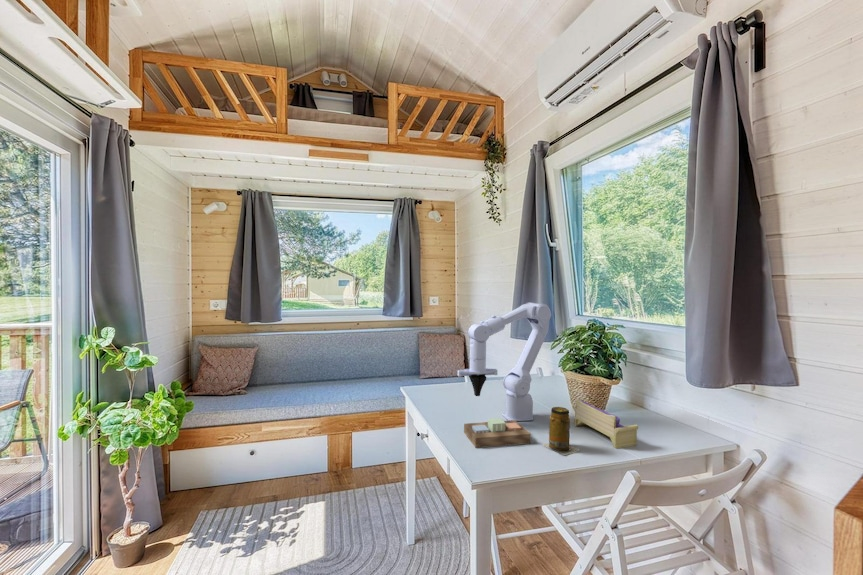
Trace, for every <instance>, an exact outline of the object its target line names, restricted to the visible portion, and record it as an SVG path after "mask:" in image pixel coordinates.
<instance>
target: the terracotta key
mask: <svg viewBox="0 0 863 575" xmlns="http://www.w3.org/2000/svg"><path fill="white" fill-rule="evenodd" d="M505 429H507V430H508V431H514V430H521V427H520V426H519V425H518V424H516V423H506V424H505Z"/></svg>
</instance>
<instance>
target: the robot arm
mask: <svg viewBox="0 0 863 575" xmlns="http://www.w3.org/2000/svg"><path fill="white" fill-rule="evenodd" d="M551 317H552V312H551V309H550V307H549V306H548V305H547V304H545V303H536V302H529V301H528V302H526V303H524V304H521V305H520V306H518V307H517V308H515V309H513V310H510V312H507V313H505V314H504V315H502V316H500V315H495V314H494V315H491V316H490V318H488V319H486V320H481V321H479V323H474V324H472V325H471V326H470V327H469V329H468V331H467V337H468V338H469V339H470V340H469V368H465V369H457V374H456V375H457V376H458V377H459V378H461V377H468V378H469V380H470V382H471V385H472V388H473V392H474V394H473V395H474V396H475V397H480V396H481V392H482V388H483V386H484V385H485V383H486V381H487V376H493V375H494V376H498V369H497V368H487V367H486V365H487V364H486V363H487V341H488V340H489V338H490V337H491V336H493V335H496V334H497V333H499V332H501V331H503V330H504V329H505V328H506V325H509V324H512V323H513V322H516V321H519V320H520V319H523V318H525V319H526V321H528V323H529V324H530V326H531V329H532V330H531V332H530V334H529V336H528V339H527V340H526V343H525V344H524V345H525V346H524V347H523V350H522V352H521V353H520V356H519V358H518V361H517V363H516V365H515V366H514V367H513V368H511V369H509V371H508V372H507V374H506V375H505V376H504V377H503V380H502V385H503V387H504V389H505V412H502V413H501V415H502V416H503V417H504V418H505V419H506V421H511V420H515V421H516V422H524V421H525V422H526V421H534V418H533V416H534V414H533V410H534V406H533V405H534V400H533V398H532V395H531V393H529V392H530V389H531V382H532V381H533V380H532V377H531V370H532V369H533V366H534V363H535V362H536V359H537V357H538V355H539V352H540V351H541V348H542V346H543V344H544V341H545V339H546V337H547V334H548V332H549V328H550V327H549V326H550V319H551Z"/></svg>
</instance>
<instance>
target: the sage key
mask: <svg viewBox="0 0 863 575" xmlns="http://www.w3.org/2000/svg"><path fill="white" fill-rule="evenodd" d="M504 421H505V420H503V419H502V418H500V417H499V418H487V422H488V428H489V429H490V431H491V432H501V431H505V424H506V423H505V422H504Z"/></svg>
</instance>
